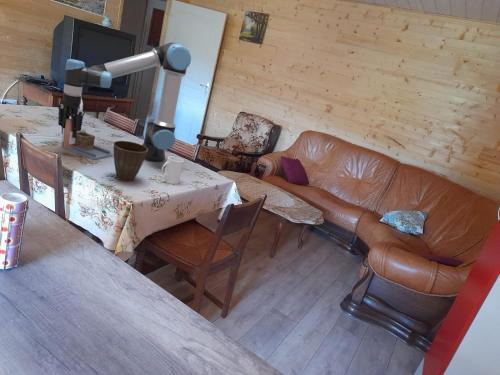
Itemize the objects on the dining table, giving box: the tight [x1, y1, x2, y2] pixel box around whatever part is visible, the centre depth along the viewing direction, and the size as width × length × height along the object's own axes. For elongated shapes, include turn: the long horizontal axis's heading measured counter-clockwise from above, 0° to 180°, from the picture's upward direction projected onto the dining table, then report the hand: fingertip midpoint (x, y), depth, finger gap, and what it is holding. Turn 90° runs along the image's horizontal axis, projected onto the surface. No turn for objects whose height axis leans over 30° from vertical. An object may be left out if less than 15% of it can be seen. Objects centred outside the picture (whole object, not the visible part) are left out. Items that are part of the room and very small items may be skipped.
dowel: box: [63, 118, 72, 150], centre depth 168 cm, size 4×4×14 cm
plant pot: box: [113, 140, 148, 182], centre depth 161 cm, size 15×15×16 cm
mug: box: [161, 155, 185, 185], centre depth 174 cm, size 12×8×12 cm
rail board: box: [61, 129, 114, 161], centre depth 181 cm, size 20×14×8 cm
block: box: [72, 132, 96, 150], centre depth 182 cm, size 8×8×7 cm
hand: (68, 142), depth 169 cm, fingers closed on dowel, 3 cm apart
